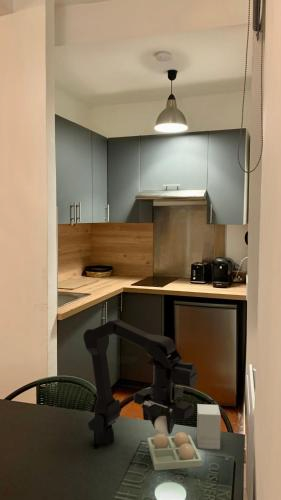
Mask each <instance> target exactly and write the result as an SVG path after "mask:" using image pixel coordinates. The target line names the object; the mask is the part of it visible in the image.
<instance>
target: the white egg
mask: <svg viewBox="0 0 281 500" xmlns="http://www.w3.org/2000/svg"><path fill="white" fill-rule="evenodd" d="M154 426H155V428H154V429H155V431H156V433H157V434H159V433H160V434H165V435H167V433H168V430H167V421H166V415H159V416H158V418H157V419H156V420H155V424H154ZM154 426H153V427H154Z"/></svg>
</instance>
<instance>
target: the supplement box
mask: <svg viewBox="0 0 281 500" xmlns="http://www.w3.org/2000/svg"><path fill="white" fill-rule="evenodd" d="M196 409H197V411H196V412H197V413H196V414H197V415H196V420H197V421H196V442H197V443H196V444H197V449H205V450H220V449H221V426H222V425H221V417H222V415H221V411H220V408H219V405H218V404H201V403H197V407H196Z"/></svg>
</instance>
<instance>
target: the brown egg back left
mask: <svg viewBox="0 0 281 500" xmlns="http://www.w3.org/2000/svg"><path fill="white" fill-rule="evenodd" d="M153 444H154V446H155V448H156V449H163V448H167V447H168V444H169V440H168V436H167V434H160V433H157V434H156V435H154V440H153Z"/></svg>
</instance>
